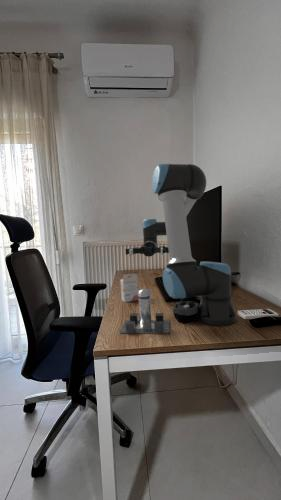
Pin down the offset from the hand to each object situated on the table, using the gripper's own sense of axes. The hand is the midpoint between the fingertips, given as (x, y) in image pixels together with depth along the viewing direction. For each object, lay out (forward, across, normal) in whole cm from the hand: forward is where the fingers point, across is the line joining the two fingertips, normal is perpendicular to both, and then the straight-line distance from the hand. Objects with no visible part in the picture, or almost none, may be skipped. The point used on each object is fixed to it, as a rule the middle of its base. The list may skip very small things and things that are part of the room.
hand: (145, 252), depth 104 cm
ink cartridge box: (-25, +12, -28) cm, 40 cm away
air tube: (+13, 0, -27) cm, 30 cm away
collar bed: (+13, 0, -28) cm, 31 cm away
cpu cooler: (+4, -16, -28) cm, 32 cm away
